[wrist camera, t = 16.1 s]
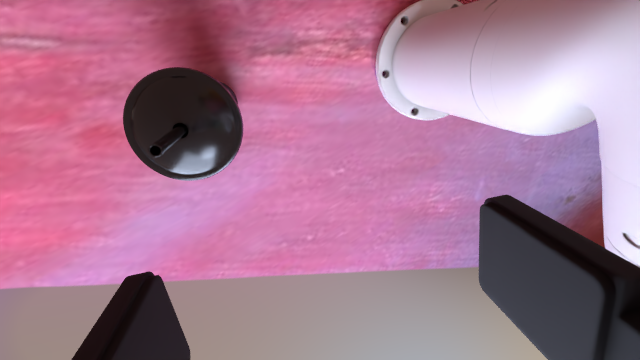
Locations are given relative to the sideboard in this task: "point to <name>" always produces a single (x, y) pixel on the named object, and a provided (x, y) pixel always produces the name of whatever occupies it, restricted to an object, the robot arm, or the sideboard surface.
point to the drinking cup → (183, 123)
